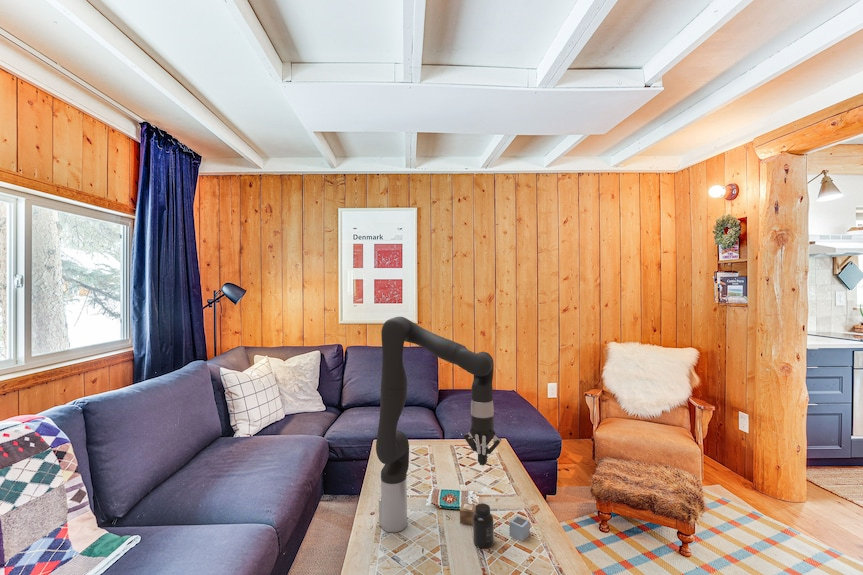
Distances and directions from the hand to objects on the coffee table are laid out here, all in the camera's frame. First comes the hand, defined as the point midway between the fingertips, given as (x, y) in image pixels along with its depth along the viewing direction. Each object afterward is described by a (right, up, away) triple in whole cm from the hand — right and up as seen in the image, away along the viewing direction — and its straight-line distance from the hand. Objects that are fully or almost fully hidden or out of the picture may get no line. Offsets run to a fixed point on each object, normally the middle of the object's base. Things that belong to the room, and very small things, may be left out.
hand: (482, 464), depth 133 cm
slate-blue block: (+13, -26, +4) cm, 30 cm away
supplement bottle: (0, -27, +1) cm, 27 cm away
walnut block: (-4, -26, +13) cm, 29 cm away
